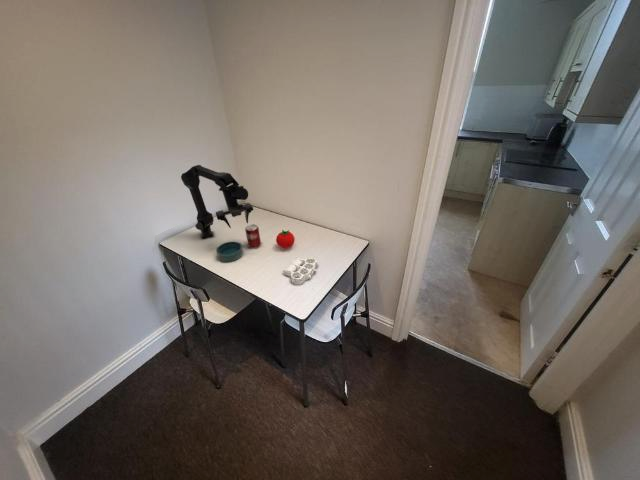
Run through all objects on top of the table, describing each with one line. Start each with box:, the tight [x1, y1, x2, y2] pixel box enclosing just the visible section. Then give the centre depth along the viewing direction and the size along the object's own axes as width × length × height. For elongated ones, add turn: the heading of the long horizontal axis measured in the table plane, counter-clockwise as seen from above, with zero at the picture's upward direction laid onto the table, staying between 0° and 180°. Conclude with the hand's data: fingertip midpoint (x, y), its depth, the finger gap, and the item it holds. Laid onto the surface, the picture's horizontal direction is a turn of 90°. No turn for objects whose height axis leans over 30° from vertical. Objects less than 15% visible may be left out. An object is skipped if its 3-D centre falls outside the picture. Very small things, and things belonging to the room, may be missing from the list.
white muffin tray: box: [282, 257, 318, 285], centre depth 126 cm, size 3×18×15 cm
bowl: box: [215, 241, 244, 263], centre depth 138 cm, size 13×13×4 cm
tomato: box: [275, 229, 296, 249], centre depth 143 cm, size 10×10×10 cm
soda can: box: [244, 223, 262, 249], centre depth 144 cm, size 7×7×12 cm
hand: (238, 225), depth 139 cm, fingers open, 9 cm apart
